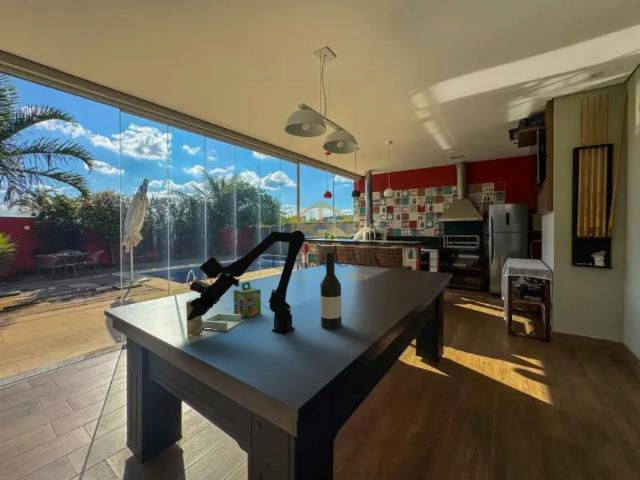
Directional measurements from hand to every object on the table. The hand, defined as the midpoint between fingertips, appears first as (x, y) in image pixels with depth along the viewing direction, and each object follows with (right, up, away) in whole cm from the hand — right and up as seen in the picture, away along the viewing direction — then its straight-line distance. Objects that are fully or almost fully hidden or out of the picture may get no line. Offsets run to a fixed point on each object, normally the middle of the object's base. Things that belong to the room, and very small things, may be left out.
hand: (190, 317), depth 103 cm
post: (+1, -7, 0) cm, 7 cm away
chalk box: (+15, -6, +25) cm, 30 cm away
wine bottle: (+53, -6, +8) cm, 54 cm away
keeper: (+7, -6, +11) cm, 15 cm away
